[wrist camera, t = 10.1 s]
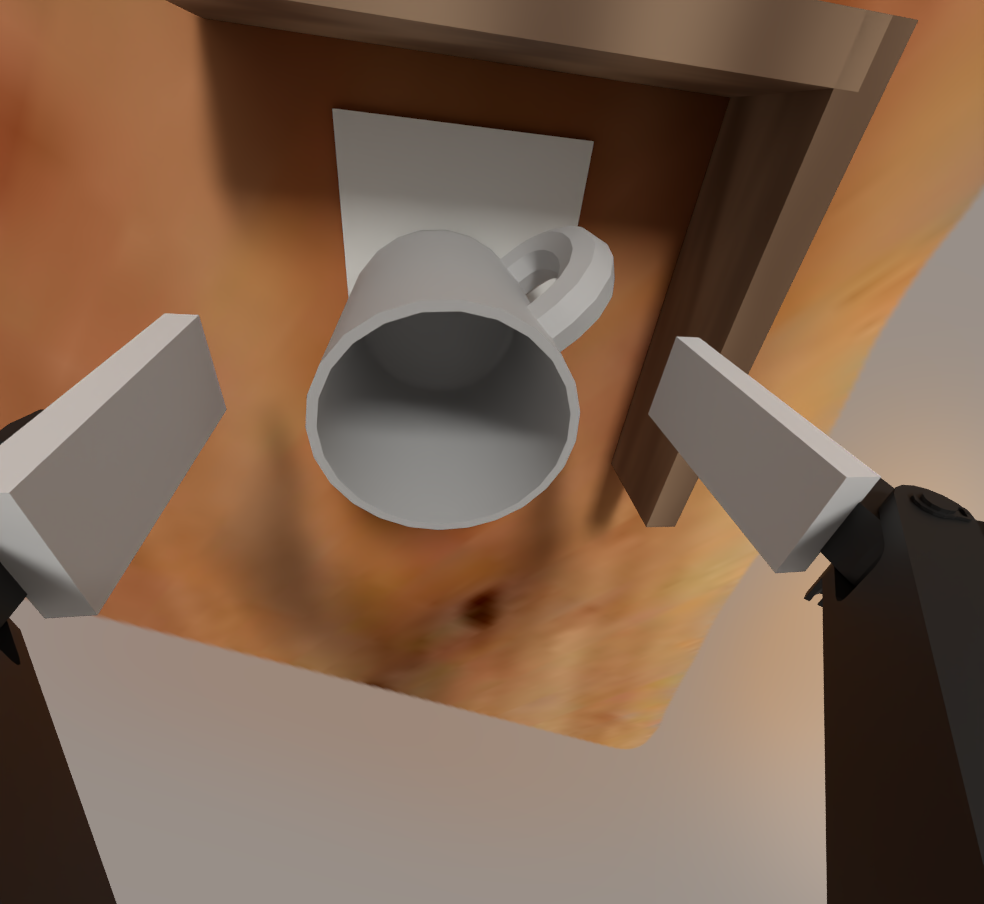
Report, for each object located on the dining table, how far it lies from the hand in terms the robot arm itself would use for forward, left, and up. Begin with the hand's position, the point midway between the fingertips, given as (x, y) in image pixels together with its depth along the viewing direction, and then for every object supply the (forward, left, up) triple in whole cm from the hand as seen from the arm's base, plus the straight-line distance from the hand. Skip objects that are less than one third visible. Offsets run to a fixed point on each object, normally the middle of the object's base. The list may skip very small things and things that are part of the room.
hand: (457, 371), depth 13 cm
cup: (+1, 0, -7) cm, 7 cm away
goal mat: (0, 0, -7) cm, 7 cm away
